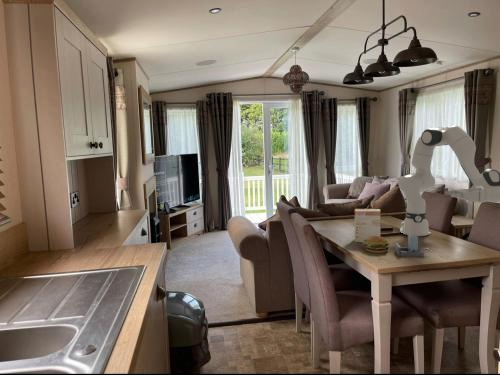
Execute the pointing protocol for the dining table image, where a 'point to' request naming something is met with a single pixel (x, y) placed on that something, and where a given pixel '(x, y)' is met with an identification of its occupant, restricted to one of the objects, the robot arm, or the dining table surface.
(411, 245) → the pale blue rectangular prism
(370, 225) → the coffeecake box
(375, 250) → the food
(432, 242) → the dining table surface
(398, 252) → the rail channel
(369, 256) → the dining table surface
